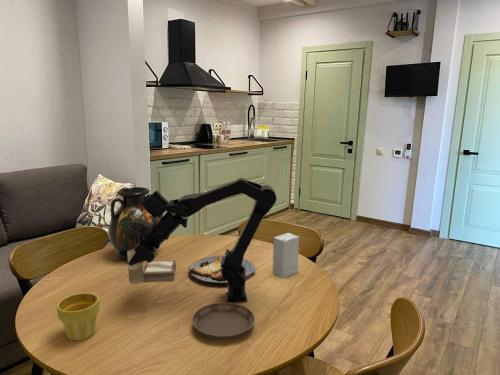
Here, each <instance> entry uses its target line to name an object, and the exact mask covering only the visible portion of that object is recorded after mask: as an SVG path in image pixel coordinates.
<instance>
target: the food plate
mask: <svg viewBox="0 0 500 375" xmlns="http://www.w3.org/2000/svg"><path fill="white" fill-rule="evenodd" d="M224 255H225V254H224ZM224 255H222V254H221V255H213V256H206V257H203V258H201V259H199V260H197V261H195V262H194V263H192V264H190V265H189V267H188V274H190V276H191V277H193V278H195V279H196V280H199V281H200V282H204V283H215V284H227V285H228V282H227V279H225V278H224V277H223V276H222V274H221V269H222V267H221V259H222V258H223V257H224ZM241 266H243V267H244V268H245V273H246V277H248V276H250V275H251V274H252V273H255V272H256V267H255V266H254V263H252V262H251V261H249V260H248V259H245V258H243V261H242V265H241Z"/></svg>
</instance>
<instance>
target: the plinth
mask: <svg viewBox="0 0 500 375" xmlns="http://www.w3.org/2000/svg"><path fill="white" fill-rule="evenodd" d="M176 270H177V261H176V260H162V261H161V260H160V261H159V260H157V261H156V260H155V261H154V260H153V261H152V262H151V263H149V262H147V261H146V263H145V265H144V267H143V282H142V283H146V282H147V283H148V282H149V283H150V282H169V281H170V282H172V281H175V277H176Z"/></svg>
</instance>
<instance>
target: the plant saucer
mask: <svg viewBox="0 0 500 375" xmlns="http://www.w3.org/2000/svg"><path fill="white" fill-rule="evenodd" d="M191 320H192V325H193V327H194V328H195V330H197V332H199V334H201V335H202V336H203V337H205V338H207V339H209V340H212V341H217V342H218V341H220V342H221V341H222V342H227V341H232V340H233V341H234V340H236V339H238V338H240V337H243V336H244V335H245V334H246V333H248V331H250V329H251V328H252V327H253V326H254V323H255V320H256V319H255V314H254V313H253V312H252V311H251V310H250V308H247V306H244V305H241V304H238V303H235V302H215V303H211V304H207V305H205V306H203V307H200V308H199V309H197V311H196V312H195V313H194V314H193V315H192V319H191Z"/></svg>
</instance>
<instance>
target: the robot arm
mask: <svg viewBox="0 0 500 375" xmlns="http://www.w3.org/2000/svg"><path fill="white" fill-rule="evenodd" d="M151 194H152V195H150V196H149V197H148V198H147V199H146V200H145V201H144V202H143V203H142V204H141V206H142V207H143V208H144V209H145V210H146V211H147V212H148V213H149V214H150V215H151V216H153V217H158V218H159V221H158V222H154V223H153V224H151V223H149V222H147V221H144V220H142V219H139V218H135V219H134V221H133V223H132V225H131V227H130V231H132V232H136V233H139V234H141V237H140V242H139V243H138V244H136V246H135V249H134V250H135V254H134V255H133V257H132V258H131V260H130V261H129V263H128V262H127V265H128V264H129V265H130V266H132V265H134V264H137V263H140V262H142V263H143V262H145V261H146V262H149V263H151V262H154V260H155V259H156V256H157V255H156V254H157V251H156V250H155V249H154V248H156V249H157V250H159V249H160V246H161V245H162V244H163V243H164V242H165V241H167V240H168V239H169V238H170V235H172V234H173V233H174V232H175V230H176V229H178V228H179V227H180V226H182V227H183V228H184V229H186V228H188V219H189V217H191V216H193V215H195V214H197V212H199V211H201V210H202V209H203V208H205V207H206V206H209V205H211V204H214V203H217V202H220V201H222V200H225V199H228V198H230V197H233V196H235V195H236V196H237V195H239V194H244V195H246V196H247V197H249V198H251V199H253V200H254V202H253V205H252V210H251V212H250V213H249V216H248V218H247V220H246V223H245V224H244V225H243V228H242V231H241V232H240V234H239V236H238V238H237V240H236V242H235V244H234V246H233V247H232V248H231V249H230V250H229V249H228V248H226V250H225V254H224V257H223V258H222V259H221V267H222V269H221V274H222V276H223V277H224V278H225V279H227V282H228V284H227V291H226V292H225V294H226V295H225V296H226V303H244V302H248V297H247V292H246V278H247V276H246V273H245V268H244V267H243V266H241V265H242V261H243V259H244V256H245V254H246V252H247V250H248V248H249V246H250V245H251V241H252V240H253V238H254V236H255V234H256V233H257V230H258V228H259V226H260V224H261V222H262V220H263V218H264V217H265V216H266V215H267V214H269V212H270V211H271V209H272V208H273V207H274V206H275V204H276V203H277V195H276V191H275V190H274V188H273V187H272V186H270V185H268V184H264V185H262V184H259V183H257V182H254V181H251V180H247V179H246V178H243V177H238V178H237V179H235V180H233V181H231V182H228V183H224V184H222V185H220V186H217V187H215V188H212V189H210V190H207V191H205V192H200V193H199V192H198V193H191V194H185V195H183V196H181V197H179V198H175V199H170V200H167V199H166V198H165V197H164V196H163V195H162V193H161V192H160V191H158V190H155V191H154V192H153V193H151ZM164 213H165V214H164ZM163 214H164V215H163ZM161 216H162V217H161ZM143 235H144V236H143Z"/></svg>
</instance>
